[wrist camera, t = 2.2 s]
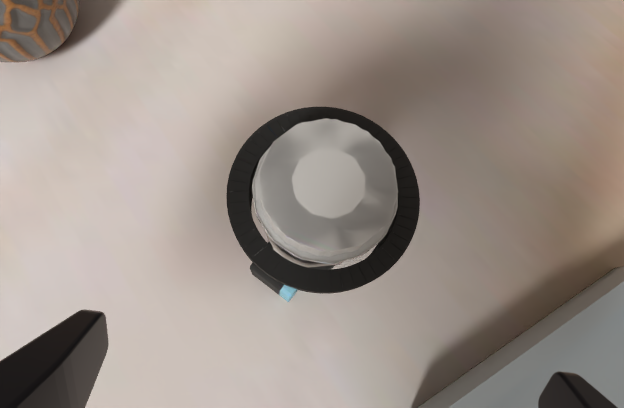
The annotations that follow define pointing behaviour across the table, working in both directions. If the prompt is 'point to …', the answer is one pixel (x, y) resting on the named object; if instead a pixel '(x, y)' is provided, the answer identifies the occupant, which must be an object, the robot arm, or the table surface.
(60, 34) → the vase
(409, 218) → the push button
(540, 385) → the tray
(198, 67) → the table surface
